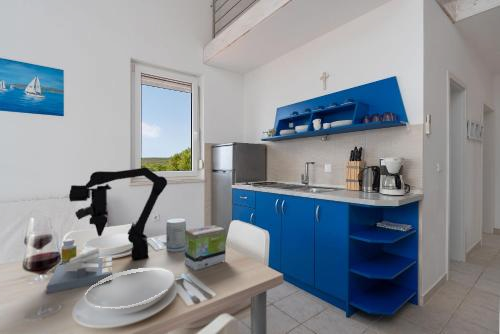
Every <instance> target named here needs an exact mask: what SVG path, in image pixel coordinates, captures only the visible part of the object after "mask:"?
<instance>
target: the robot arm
mask: <svg viewBox="0 0 500 334" xmlns="http://www.w3.org/2000/svg"><path fill="white" fill-rule="evenodd" d="M137 177H145V178H146V179H148V180H149V181H151V182H152V186H151V190H150V193H149V196H148V198H147V200H146V202H145V203H144V204H145V205H144V207H143V208H142V211H141V213H140V215H139V217H138V219H137V221H136V222H135V223H134V222H132V223H131V225H130V226H131V227H130V228H129V229H128V231H127V239H128V241H129V243H131V244H132V247H131V249H130V250H131V252H130V254H131V255H130V257H131V259H132V260H133V262H134V261H135V262H136V261H141V260H145V259H146V260H147V259H149V258H150V256H149V243H148V236H147V235H145V234H144V231H145V227H146V224H147V222H148V220H149V217H150V215H151V213H152V212H153V209H154V207H155V205H156V202H157V200H158V198H159V196H160V195H161V194H162V193H163V191H164V190H165V189H166V187H167V185H168V181H167V179H166V177H164V176H163V175H158V174H156V173H154V172H153V171H152V170H150V169H149V168H148V167H145V166H144V167H141V168H133V169H126V170H117V171H110V170H109V171H103V170H99V171H95V172H92V173H91V175H90V176H89V180H88V182H86V184H85V185H84V184H82V185H76V184H73V185H71V186H70V190H69V193H68V194H69V195H68V196H69V197H68V198H69V199H68V200H69V201H70V202H71V203H72V202H85V201H86V202H87V201H88V199H91V200H90V201H91V203H90V204H89V206H87V207H84V208H83V207H82V208H79V209H77V211H75V212H74V214H75V217H76V218H77V219H78V220H82V219H83V218H85V217H88V216H90V217H89V225H94V226H95V229H96V232H97V236H98V237H100V236H102V235H103V233H104V230H105V228H106V225H107V223H108V219H109V218H108V216H109V211H108V190H112V188H113V187H111V186H110V185H109V183H110V182H113V181H117V180H123V179H131V178H137ZM104 184H105V185H104ZM95 186H96V187H95ZM93 187H94V188H93Z"/></svg>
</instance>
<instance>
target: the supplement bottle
mask: <svg viewBox="0 0 500 334" xmlns="http://www.w3.org/2000/svg"><path fill="white" fill-rule="evenodd" d="M62 244H63V245H62V246H61V247H60V248H61V251H60V252H61V255H62V258H61V259H62V261H61V265H63V264H67V263H69V262H70V259H71V258H74V257H76V256H78V255H77V244H76V243H75V238H66V239H63V240H62Z"/></svg>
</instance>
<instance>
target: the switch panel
mask: <svg viewBox="0 0 500 334" xmlns="http://www.w3.org/2000/svg"><path fill="white" fill-rule="evenodd" d="M85 258H86V257H85ZM81 259H82V258H81ZM84 263H87V262H84ZM91 264H99V265H98V270H97V272H95V271H86V268H81V269H78V270H77V271H64V270H65V267H66V264H59V265H57V266H56V268H55V270H54V272H53V274H52V275H51V278H50V279H49V281H48V283H47V286H46V293H47V294H51V293H55V292H62V291H64V290H65V291H66V290H70V289H75V288H81V287H84V286H89V285H94V284H97V283H96V282H98V281H100V280H102V279H104V278H106V277H108V276H110V275H112V276H113V256H105V257H101V258H100V257H99V260H98V261H95V262H92V263H91Z"/></svg>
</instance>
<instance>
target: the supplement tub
mask: <svg viewBox="0 0 500 334" xmlns="http://www.w3.org/2000/svg"><path fill="white" fill-rule="evenodd" d="M186 222H187V221H186V219H185V218H180V217H177V218H170V219H168V220H166V233H165V235H166V239H165V240H166V241H165V242H166V244H165V245H166V246H165V247H166V251H168V252H171V253H178V252H181V251H185V230H187V223H186Z"/></svg>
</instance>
